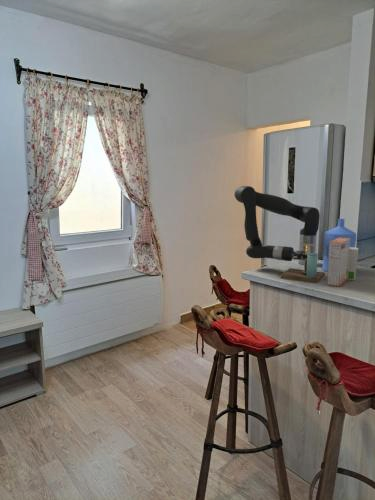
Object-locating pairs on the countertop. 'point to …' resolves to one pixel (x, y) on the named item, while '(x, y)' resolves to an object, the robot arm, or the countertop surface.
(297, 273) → the brown wooden board
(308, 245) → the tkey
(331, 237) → the water jug
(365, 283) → the countertop surface
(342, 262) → the cracker box
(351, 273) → the skincare box
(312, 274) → the teal cylinder
